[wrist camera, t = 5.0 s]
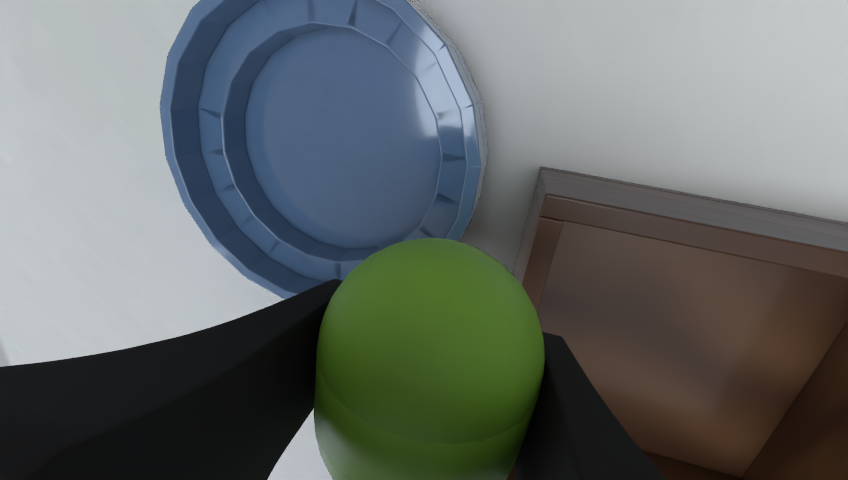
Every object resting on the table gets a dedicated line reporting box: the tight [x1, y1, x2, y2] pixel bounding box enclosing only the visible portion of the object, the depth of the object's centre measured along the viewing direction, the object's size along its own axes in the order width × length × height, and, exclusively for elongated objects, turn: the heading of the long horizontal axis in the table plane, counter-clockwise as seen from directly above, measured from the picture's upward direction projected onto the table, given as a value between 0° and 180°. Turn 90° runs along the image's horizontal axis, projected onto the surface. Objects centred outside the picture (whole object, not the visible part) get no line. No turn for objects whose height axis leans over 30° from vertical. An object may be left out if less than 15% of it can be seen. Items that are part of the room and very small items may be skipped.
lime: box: [314, 238, 545, 480], centre depth 9 cm, size 6×5×5 cm
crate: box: [506, 167, 848, 480], centre depth 16 cm, size 14×14×4 cm
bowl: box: [160, 0, 488, 299], centre depth 17 cm, size 13×13×4 cm
